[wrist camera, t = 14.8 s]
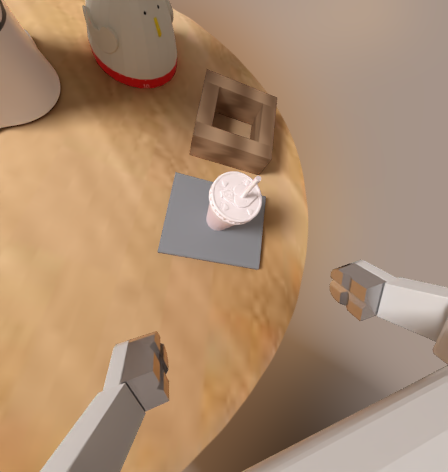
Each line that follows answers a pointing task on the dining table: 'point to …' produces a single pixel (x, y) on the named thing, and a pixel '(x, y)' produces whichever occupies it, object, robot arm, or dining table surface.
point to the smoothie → (233, 200)
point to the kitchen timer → (133, 40)
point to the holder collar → (241, 108)
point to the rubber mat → (207, 228)
